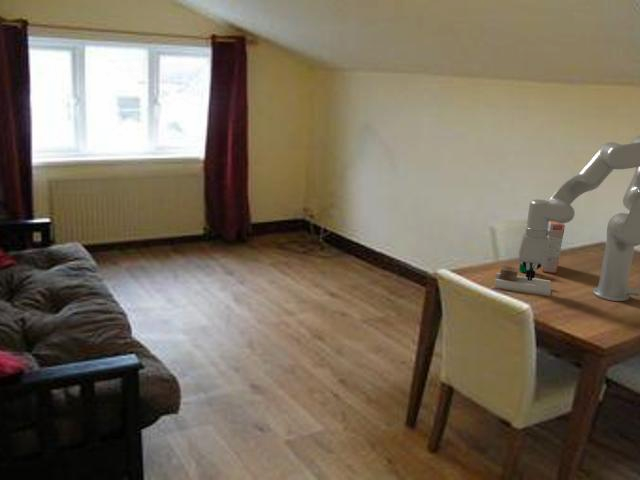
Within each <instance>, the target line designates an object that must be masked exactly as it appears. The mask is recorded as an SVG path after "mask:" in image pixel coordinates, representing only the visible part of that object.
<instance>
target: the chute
mask: <svg viewBox="0 0 640 480" xmlns="http://www.w3.org/2000/svg"><path fill="white" fill-rule="evenodd" d="M500 274H501V272H496V275H495V281H494V289H500V290H501V289H502V290H507V291H514V292H522V293H526V294H534V295H540V296H547V297H550V296H551V293H552V287H551V282H552V281H551V280H547V279H541V278H535V277H534V278H532V281H530V280H529V281H528V280H527V279H528V278H527V277H526V276H520V275H517V279H516V282H514V281H507V280H501V279H500Z"/></svg>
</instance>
